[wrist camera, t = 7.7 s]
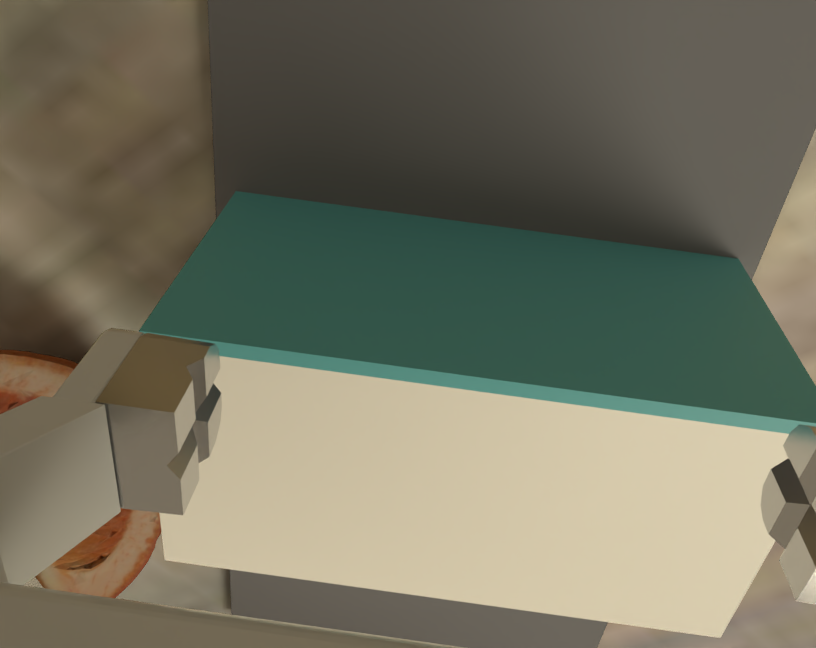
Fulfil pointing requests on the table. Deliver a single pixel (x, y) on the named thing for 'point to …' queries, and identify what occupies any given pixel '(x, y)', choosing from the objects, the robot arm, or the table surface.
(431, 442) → the block
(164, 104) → the table surface
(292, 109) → the mat
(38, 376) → the fruit slice
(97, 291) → the table surface
